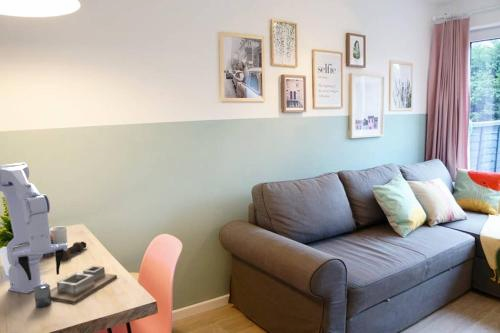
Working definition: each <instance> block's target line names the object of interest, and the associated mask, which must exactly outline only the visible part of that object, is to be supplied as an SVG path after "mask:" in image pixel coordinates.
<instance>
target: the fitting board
mask: <svg viewBox="0 0 500 333" xmlns="http://www.w3.org/2000/svg"><path fill="white" fill-rule="evenodd" d="M105 271H106V270H105V266H100V265H91V266H90V267H88V268H86V269H84V270H83V272H81V273H80V272H74V273H72V274H69V275H68V276H66V277H64V278H62V279H60V280H58V281H56V287H53V288H52V289H51V288H50V293H51V301H56V302H63V303H68V304H77V303H78V302H80V301H81V300H83V299H85V298H86V297H88V296H89V295H91V294H93V293H94V292H96V291H97V290H99V289H101V288H102V287H104V286H106V285H107V284H109V283H111V282H112V281H115V279H117V278H118V277H117V276H118V275H117V274H111V273H106V272H105Z"/></svg>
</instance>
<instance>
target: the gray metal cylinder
mask: <svg viewBox="0 0 500 333" xmlns="http://www.w3.org/2000/svg"><path fill="white" fill-rule="evenodd" d="M50 290H51V287H50V284H43V285H39V286H36V287H35V288H34V291H33V294H34V302H35V308H36V309H37V310H38V309H39V310H43V309H46V308H48V307H50V306H51V305H52V300H51V293H50Z"/></svg>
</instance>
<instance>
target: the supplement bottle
mask: <svg viewBox="0 0 500 333" xmlns="http://www.w3.org/2000/svg"><path fill="white" fill-rule="evenodd" d="M50 240H51V244H54V243H53V236H52V235H51V233H50ZM54 256H55V252H52V253H46V254H43V256H42V258H41V259H49V258H52V257H54Z"/></svg>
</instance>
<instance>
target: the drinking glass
mask: <svg viewBox="0 0 500 333" xmlns="http://www.w3.org/2000/svg"><path fill="white" fill-rule="evenodd" d="M49 231H50V234H51V235H52V236H53V243H54V244H63V243H67V244H68V231H67V226H65V225H59V226H54V227H51V228H49Z"/></svg>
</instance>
